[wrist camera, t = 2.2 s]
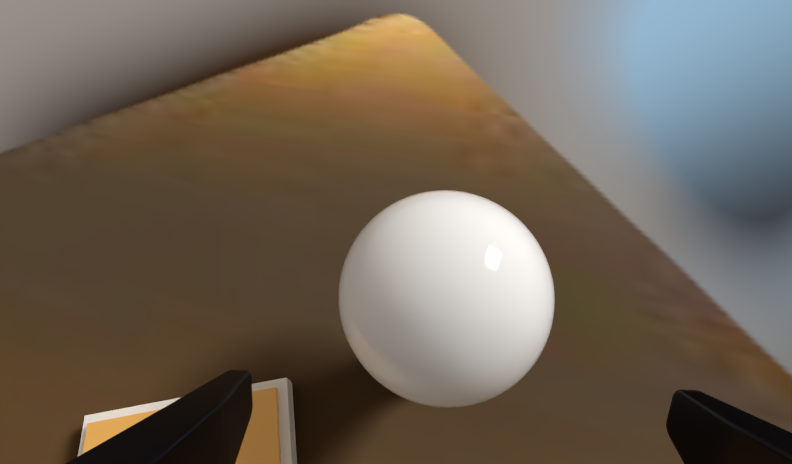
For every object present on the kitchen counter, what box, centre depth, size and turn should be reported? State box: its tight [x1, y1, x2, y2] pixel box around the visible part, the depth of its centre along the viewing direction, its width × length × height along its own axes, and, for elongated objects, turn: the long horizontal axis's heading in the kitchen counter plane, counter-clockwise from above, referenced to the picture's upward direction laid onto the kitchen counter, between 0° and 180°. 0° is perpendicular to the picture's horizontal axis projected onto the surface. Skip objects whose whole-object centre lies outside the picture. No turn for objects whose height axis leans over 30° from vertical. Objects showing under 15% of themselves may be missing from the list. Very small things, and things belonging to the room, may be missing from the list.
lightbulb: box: [338, 190, 555, 408], centre depth 14 cm, size 6×6×11 cm
